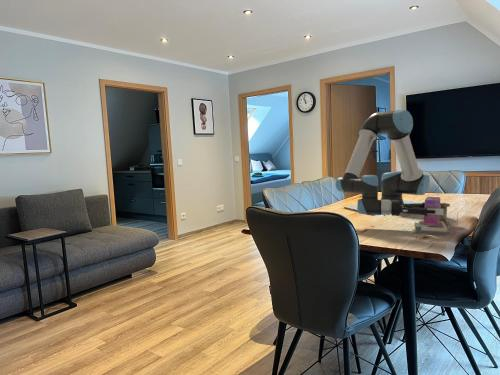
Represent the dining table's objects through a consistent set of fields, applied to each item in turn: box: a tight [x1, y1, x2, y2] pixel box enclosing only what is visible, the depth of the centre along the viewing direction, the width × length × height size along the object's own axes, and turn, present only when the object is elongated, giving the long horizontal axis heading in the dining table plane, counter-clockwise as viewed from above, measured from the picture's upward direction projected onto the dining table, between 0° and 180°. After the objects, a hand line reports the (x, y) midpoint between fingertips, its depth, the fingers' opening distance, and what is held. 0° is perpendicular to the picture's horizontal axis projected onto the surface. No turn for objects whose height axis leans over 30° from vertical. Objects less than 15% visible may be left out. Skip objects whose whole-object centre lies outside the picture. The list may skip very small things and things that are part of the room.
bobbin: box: [439, 202, 451, 226], centre depth 182 cm, size 6×6×10 cm
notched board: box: [414, 219, 452, 235], centre depth 171 cm, size 14×17×3 cm
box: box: [423, 196, 441, 226], centre depth 170 cm, size 10×6×12 cm, turn 148°
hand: (441, 209), depth 169 cm, fingers closed on box, 11 cm apart
